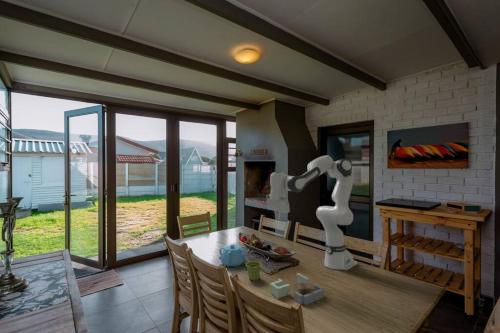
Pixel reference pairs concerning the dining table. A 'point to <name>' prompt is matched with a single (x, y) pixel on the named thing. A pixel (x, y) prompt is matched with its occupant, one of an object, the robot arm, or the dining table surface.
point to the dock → (309, 296)
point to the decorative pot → (232, 255)
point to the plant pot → (253, 270)
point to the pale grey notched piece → (285, 286)
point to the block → (303, 288)
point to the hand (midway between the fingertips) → (278, 217)
